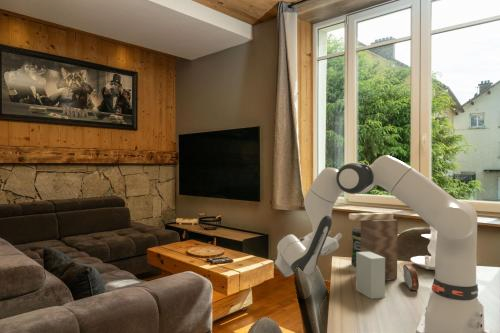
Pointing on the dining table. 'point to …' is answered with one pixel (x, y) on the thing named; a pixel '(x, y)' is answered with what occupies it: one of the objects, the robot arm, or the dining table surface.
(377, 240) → the tall stand
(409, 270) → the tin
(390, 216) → the beech bar
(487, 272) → the dining table surface
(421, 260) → the candlestick
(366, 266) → the pedestal
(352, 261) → the coffee jar
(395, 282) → the dining table surface
